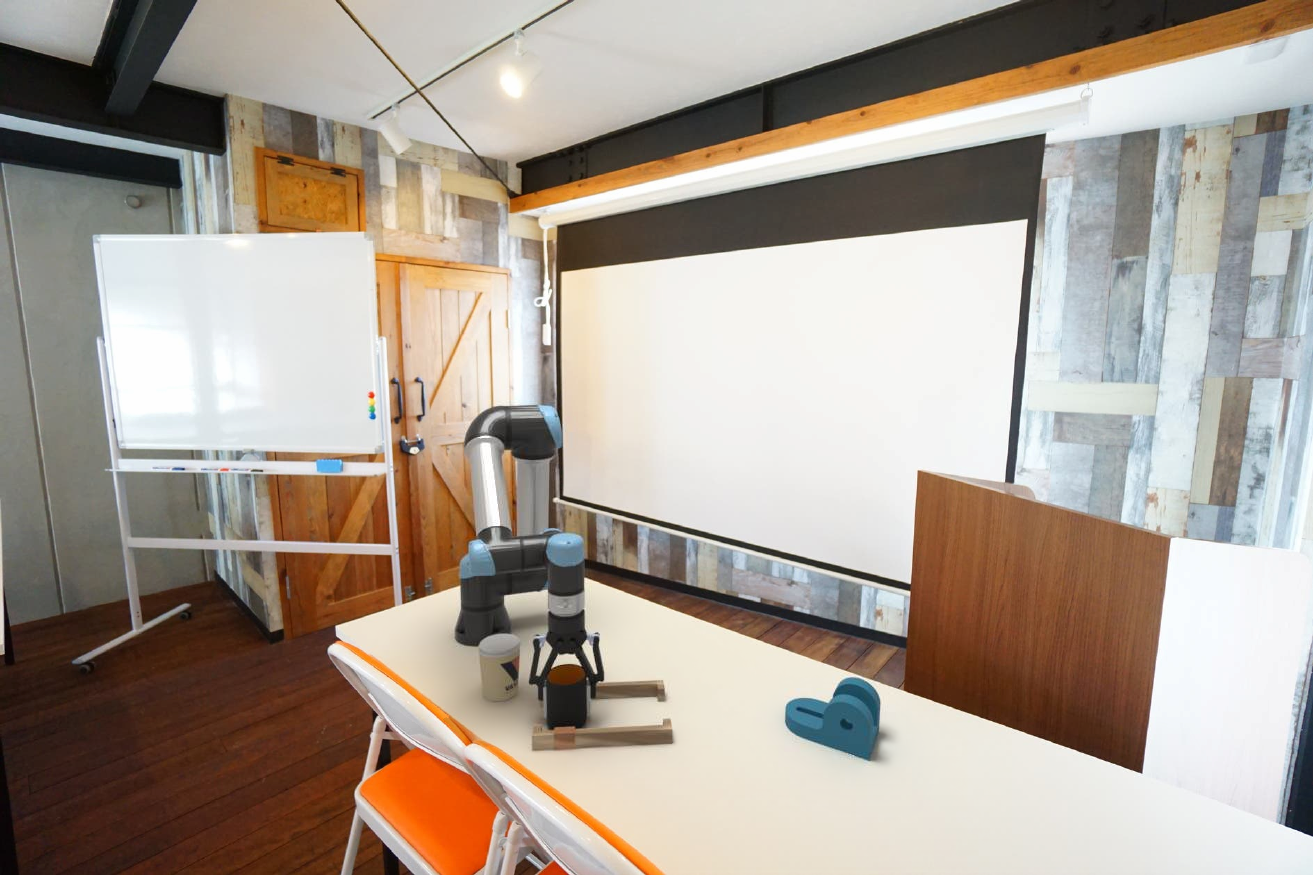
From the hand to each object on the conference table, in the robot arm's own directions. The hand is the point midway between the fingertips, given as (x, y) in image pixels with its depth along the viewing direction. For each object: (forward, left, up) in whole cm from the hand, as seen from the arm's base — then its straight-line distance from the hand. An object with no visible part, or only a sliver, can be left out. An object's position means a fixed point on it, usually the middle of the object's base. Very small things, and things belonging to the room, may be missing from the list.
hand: (567, 712), depth 120 cm
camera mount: (+7, +54, -2) cm, 55 cm away
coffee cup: (-12, -16, -2) cm, 20 cm away
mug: (0, +1, -1) cm, 1 cm away
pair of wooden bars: (0, +7, -2) cm, 8 cm away
